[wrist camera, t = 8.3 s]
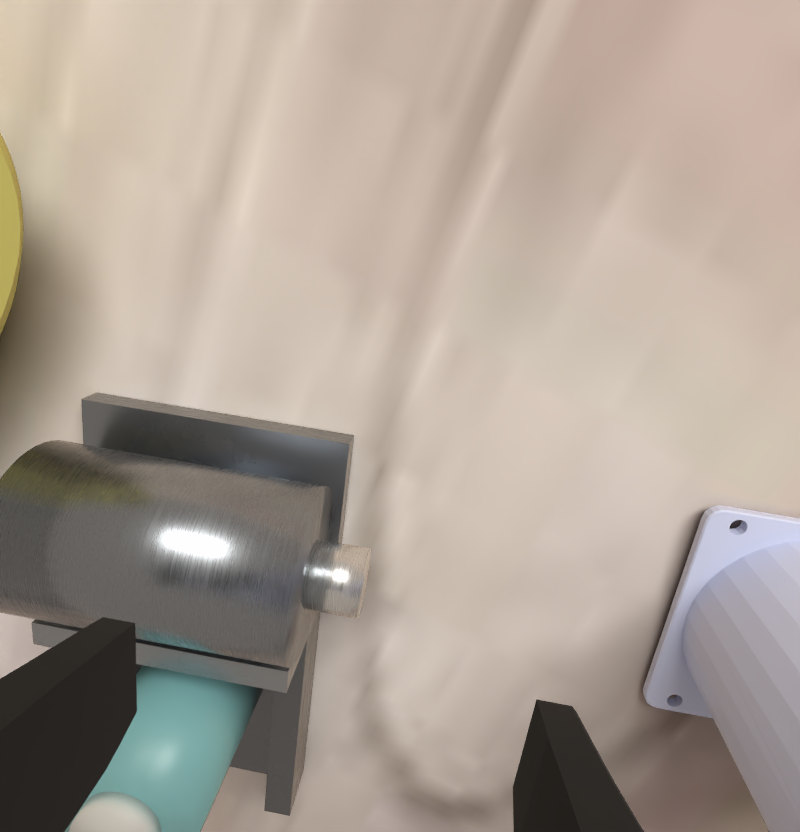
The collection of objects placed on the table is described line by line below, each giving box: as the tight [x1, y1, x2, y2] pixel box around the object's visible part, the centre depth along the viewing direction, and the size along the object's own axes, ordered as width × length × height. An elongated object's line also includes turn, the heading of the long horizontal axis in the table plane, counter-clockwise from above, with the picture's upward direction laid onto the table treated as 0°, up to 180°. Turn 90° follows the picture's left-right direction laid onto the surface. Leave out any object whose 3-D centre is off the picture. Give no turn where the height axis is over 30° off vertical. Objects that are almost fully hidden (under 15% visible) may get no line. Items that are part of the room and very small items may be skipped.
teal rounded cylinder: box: [65, 665, 263, 832], centre depth 19 cm, size 4×4×7 cm
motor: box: [0, 393, 371, 816], centre depth 19 cm, size 10×15×6 cm
